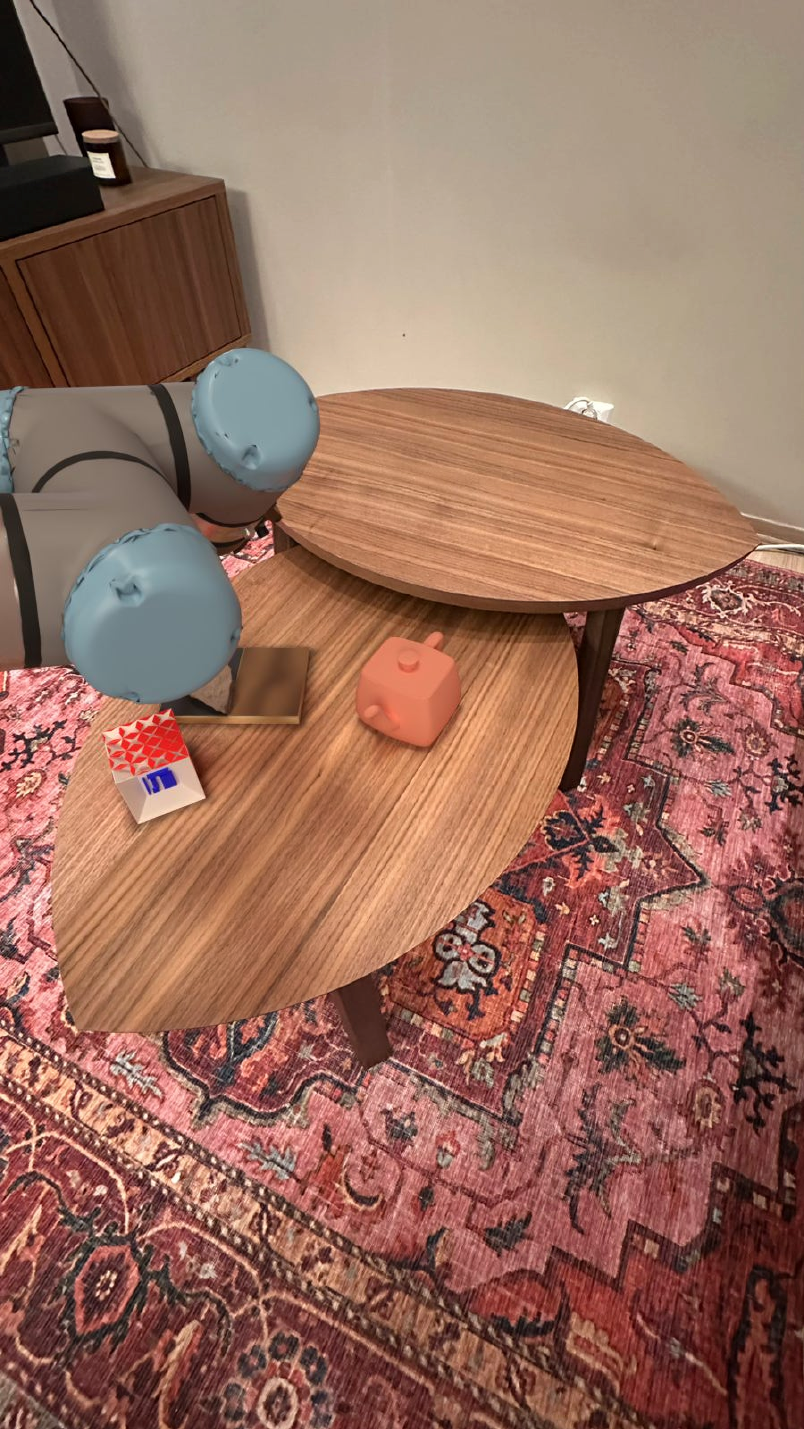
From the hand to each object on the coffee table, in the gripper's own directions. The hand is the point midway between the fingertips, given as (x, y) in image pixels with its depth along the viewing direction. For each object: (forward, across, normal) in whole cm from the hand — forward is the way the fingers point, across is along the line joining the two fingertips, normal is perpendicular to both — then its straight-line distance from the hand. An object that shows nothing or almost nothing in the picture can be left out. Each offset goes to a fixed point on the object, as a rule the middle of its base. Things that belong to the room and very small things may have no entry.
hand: (174, 566), depth 72 cm
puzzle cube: (+12, -11, -21) cm, 26 cm away
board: (+18, +4, -15) cm, 23 cm away
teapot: (+4, +18, -28) cm, 33 cm away
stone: (+19, +1, -12) cm, 22 cm away
